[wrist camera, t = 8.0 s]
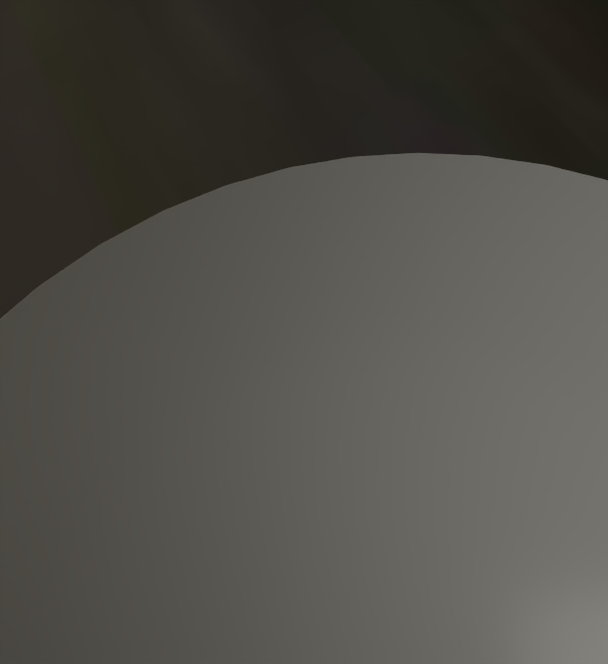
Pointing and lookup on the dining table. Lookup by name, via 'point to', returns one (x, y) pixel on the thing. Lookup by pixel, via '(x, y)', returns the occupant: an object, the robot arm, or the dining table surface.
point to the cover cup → (318, 426)
